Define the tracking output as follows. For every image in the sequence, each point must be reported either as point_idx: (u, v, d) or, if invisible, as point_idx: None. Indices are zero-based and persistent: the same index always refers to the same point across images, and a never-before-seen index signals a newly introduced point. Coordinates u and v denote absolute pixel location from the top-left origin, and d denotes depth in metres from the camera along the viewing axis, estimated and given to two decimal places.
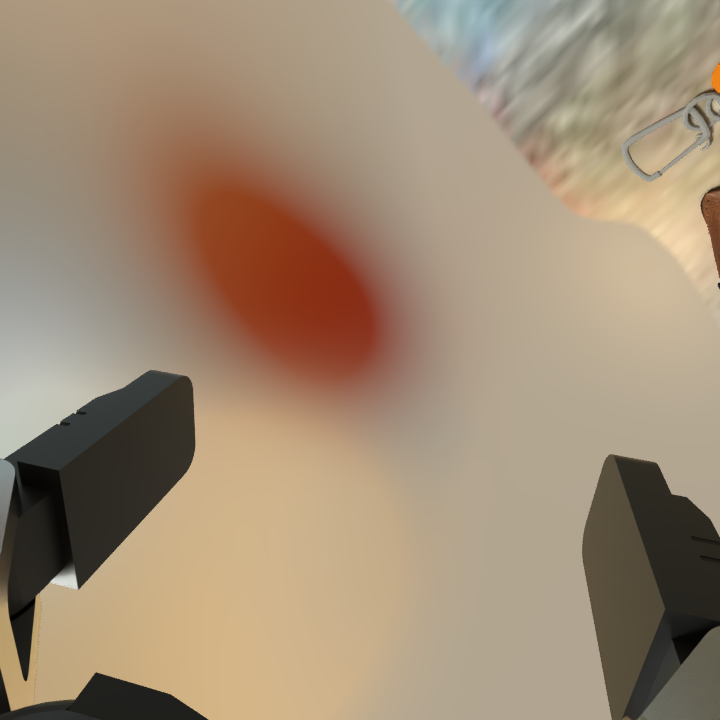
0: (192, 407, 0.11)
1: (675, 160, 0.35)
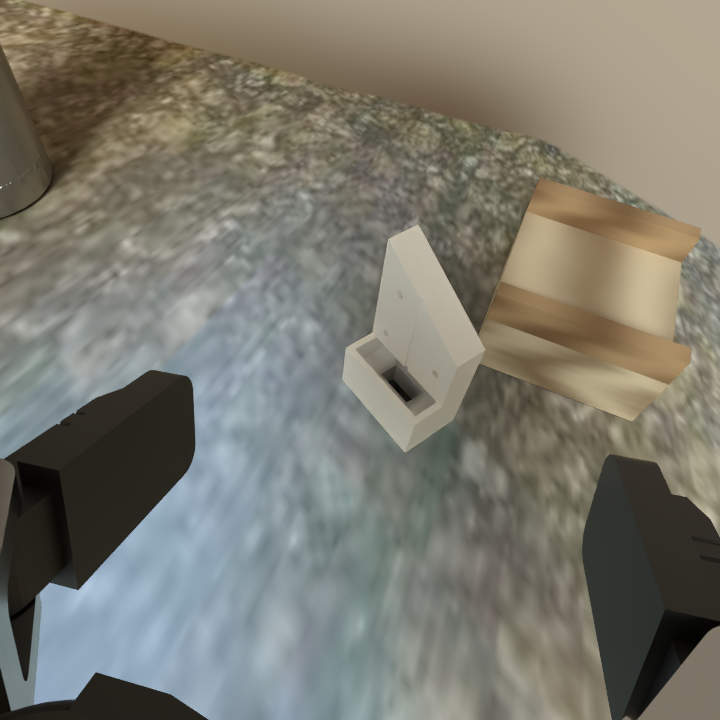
0: (192, 407, 0.11)
1: None
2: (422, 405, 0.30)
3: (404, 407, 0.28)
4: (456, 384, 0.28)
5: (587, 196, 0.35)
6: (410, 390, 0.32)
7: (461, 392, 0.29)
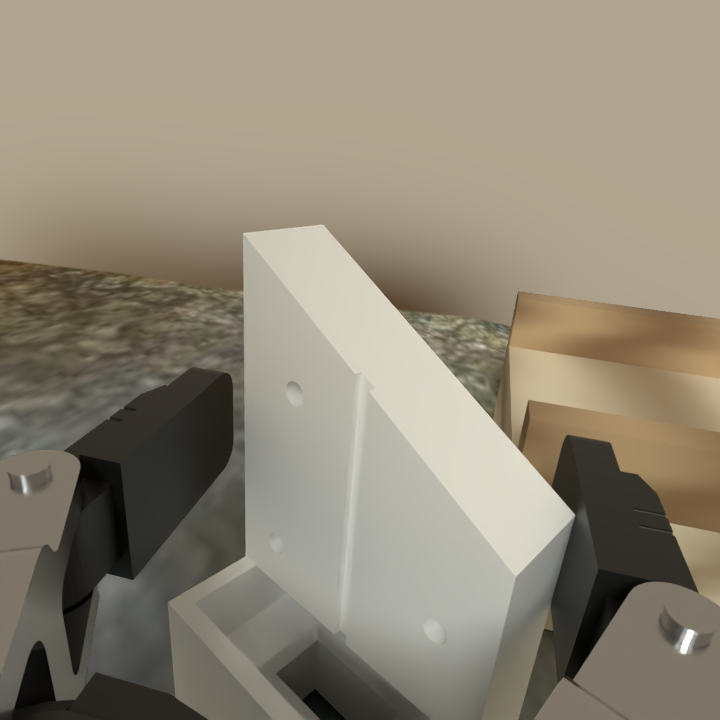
0: (232, 403, 0.12)
1: None
2: None
3: None
4: (509, 658, 0.08)
5: (601, 305, 0.22)
6: (363, 714, 0.11)
7: (518, 690, 0.09)
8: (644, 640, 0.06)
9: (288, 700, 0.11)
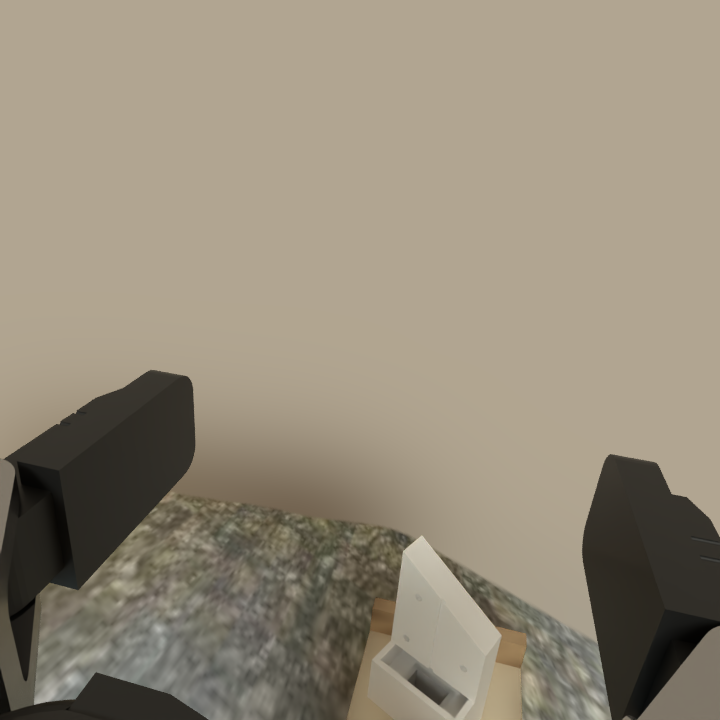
0: (192, 407, 0.11)
1: None
2: (453, 706, 0.32)
3: (442, 710, 0.30)
4: (484, 675, 0.30)
5: None
6: (435, 694, 0.33)
7: (487, 684, 0.32)
8: None
9: None
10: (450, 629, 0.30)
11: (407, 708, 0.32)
